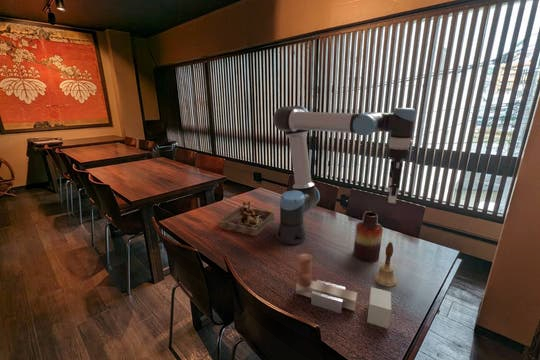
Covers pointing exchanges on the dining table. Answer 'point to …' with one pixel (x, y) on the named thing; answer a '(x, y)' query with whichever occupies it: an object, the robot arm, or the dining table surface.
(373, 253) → the vase
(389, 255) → the hand bell
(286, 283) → the dining table surface
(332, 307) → the sleeve
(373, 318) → the white upright block
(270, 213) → the shallow square tray
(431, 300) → the dining table surface
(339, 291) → the sliding bolt with handle
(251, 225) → the bear figurine
